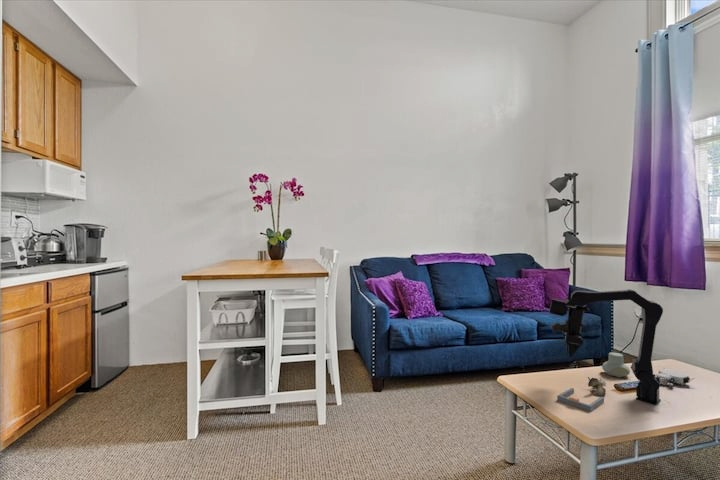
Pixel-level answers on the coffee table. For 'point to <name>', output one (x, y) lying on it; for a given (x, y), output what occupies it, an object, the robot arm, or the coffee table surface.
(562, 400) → the pocket
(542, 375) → the coffee table surface
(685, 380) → the robot toy
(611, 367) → the air freshener
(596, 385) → the eagle figurine
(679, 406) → the coffee table surface
